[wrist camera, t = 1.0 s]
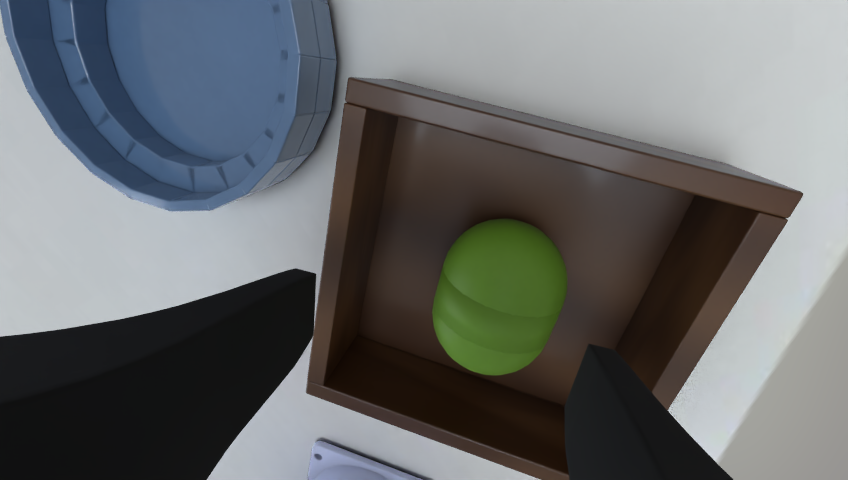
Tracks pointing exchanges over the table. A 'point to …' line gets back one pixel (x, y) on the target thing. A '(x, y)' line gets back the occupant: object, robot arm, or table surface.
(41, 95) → the bowl
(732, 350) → the table surface
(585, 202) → the crate
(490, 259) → the lime
